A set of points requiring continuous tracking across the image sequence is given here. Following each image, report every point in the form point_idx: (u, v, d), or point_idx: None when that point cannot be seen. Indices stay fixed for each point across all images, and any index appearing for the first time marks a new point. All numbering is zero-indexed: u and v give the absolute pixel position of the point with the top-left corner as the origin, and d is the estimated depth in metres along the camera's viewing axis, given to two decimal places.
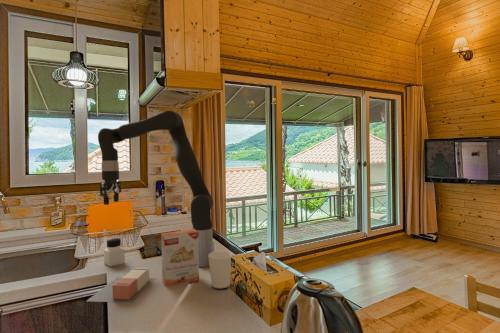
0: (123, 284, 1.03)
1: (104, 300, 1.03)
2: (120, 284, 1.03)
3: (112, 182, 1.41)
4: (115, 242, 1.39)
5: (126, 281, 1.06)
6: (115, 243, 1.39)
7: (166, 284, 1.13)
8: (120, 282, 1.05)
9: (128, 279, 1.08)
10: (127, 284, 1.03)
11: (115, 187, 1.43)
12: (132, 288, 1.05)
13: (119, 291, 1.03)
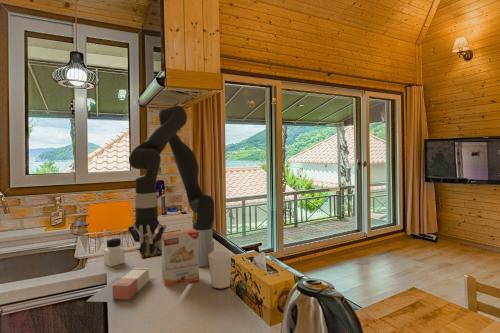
0: (123, 284, 1.03)
1: (104, 300, 1.03)
2: (120, 284, 1.03)
3: None
4: (115, 242, 1.39)
5: (126, 281, 1.06)
6: (115, 243, 1.39)
7: (166, 284, 1.13)
8: (120, 282, 1.05)
9: (128, 279, 1.08)
10: (127, 284, 1.03)
11: None
12: (132, 288, 1.05)
13: (119, 291, 1.03)
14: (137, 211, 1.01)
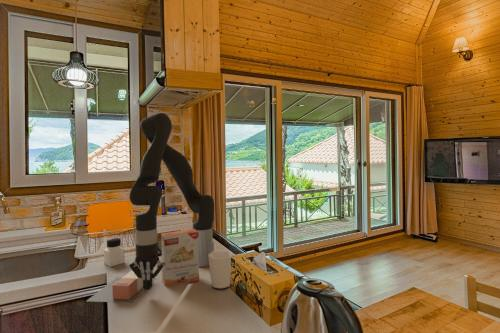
0: (123, 284, 1.03)
1: (104, 300, 1.03)
2: (120, 284, 1.03)
3: None
4: (115, 242, 1.39)
5: (126, 281, 1.06)
6: (115, 243, 1.39)
7: (166, 284, 1.13)
8: (120, 282, 1.05)
9: (128, 279, 1.08)
10: (127, 284, 1.03)
11: None
12: (132, 288, 1.05)
13: (119, 291, 1.03)
14: (137, 248, 1.01)
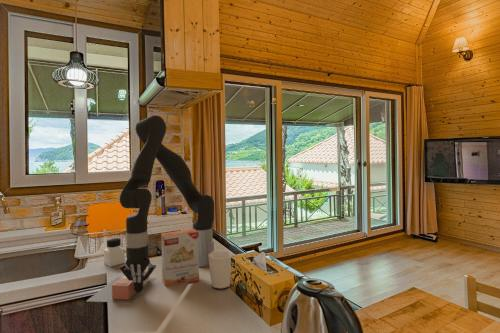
0: (122, 284, 1.03)
1: (104, 300, 1.03)
2: (119, 284, 1.03)
3: None
4: (115, 242, 1.39)
5: (125, 281, 1.06)
6: (115, 243, 1.39)
7: (166, 284, 1.13)
8: (119, 282, 1.05)
9: (127, 279, 1.08)
10: (126, 284, 1.03)
11: None
12: (131, 288, 1.05)
13: (118, 291, 1.03)
14: (127, 251, 1.02)
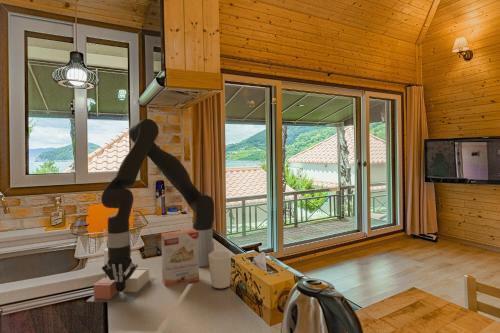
0: (104, 284, 1.04)
1: (104, 300, 1.03)
2: (101, 284, 1.04)
3: None
4: None
5: (107, 281, 1.06)
6: None
7: (166, 284, 1.13)
8: (102, 282, 1.06)
9: None
10: (108, 284, 1.04)
11: None
12: (113, 288, 1.05)
13: (100, 291, 1.03)
14: (109, 251, 1.02)
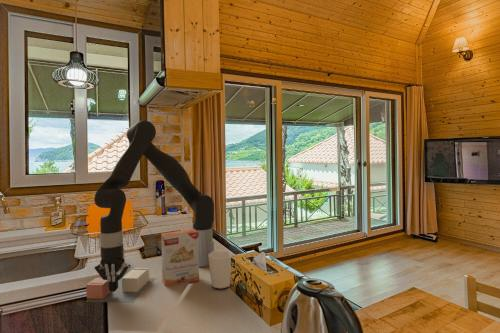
0: (97, 283, 1.04)
1: (104, 300, 1.03)
2: (94, 283, 1.04)
3: None
4: None
5: (100, 281, 1.06)
6: None
7: (166, 284, 1.13)
8: (94, 281, 1.06)
9: None
10: (101, 283, 1.04)
11: None
12: (106, 287, 1.06)
13: (93, 291, 1.04)
14: (101, 251, 1.02)
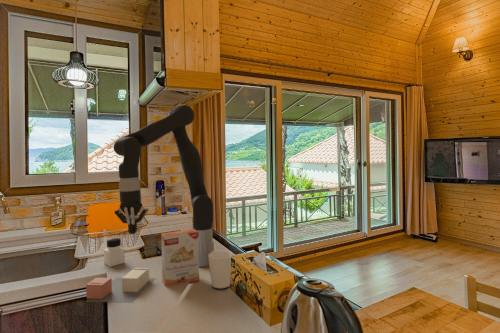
0: (97, 283, 1.04)
1: (104, 300, 1.03)
2: (94, 283, 1.04)
3: None
4: (115, 242, 1.39)
5: (100, 281, 1.06)
6: (115, 243, 1.39)
7: (166, 284, 1.13)
8: (94, 281, 1.06)
9: (103, 278, 1.08)
10: (101, 283, 1.04)
11: None
12: (106, 287, 1.06)
13: (92, 291, 1.04)
14: (121, 195, 1.10)
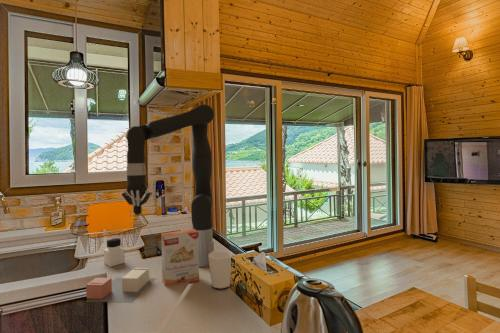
0: (97, 283, 1.04)
1: (104, 300, 1.03)
2: (94, 283, 1.04)
3: None
4: (115, 242, 1.39)
5: (100, 281, 1.06)
6: (115, 243, 1.39)
7: (166, 284, 1.13)
8: (94, 281, 1.06)
9: (103, 278, 1.08)
10: (101, 283, 1.04)
11: None
12: (106, 287, 1.06)
13: (92, 291, 1.04)
14: (128, 178, 1.21)
